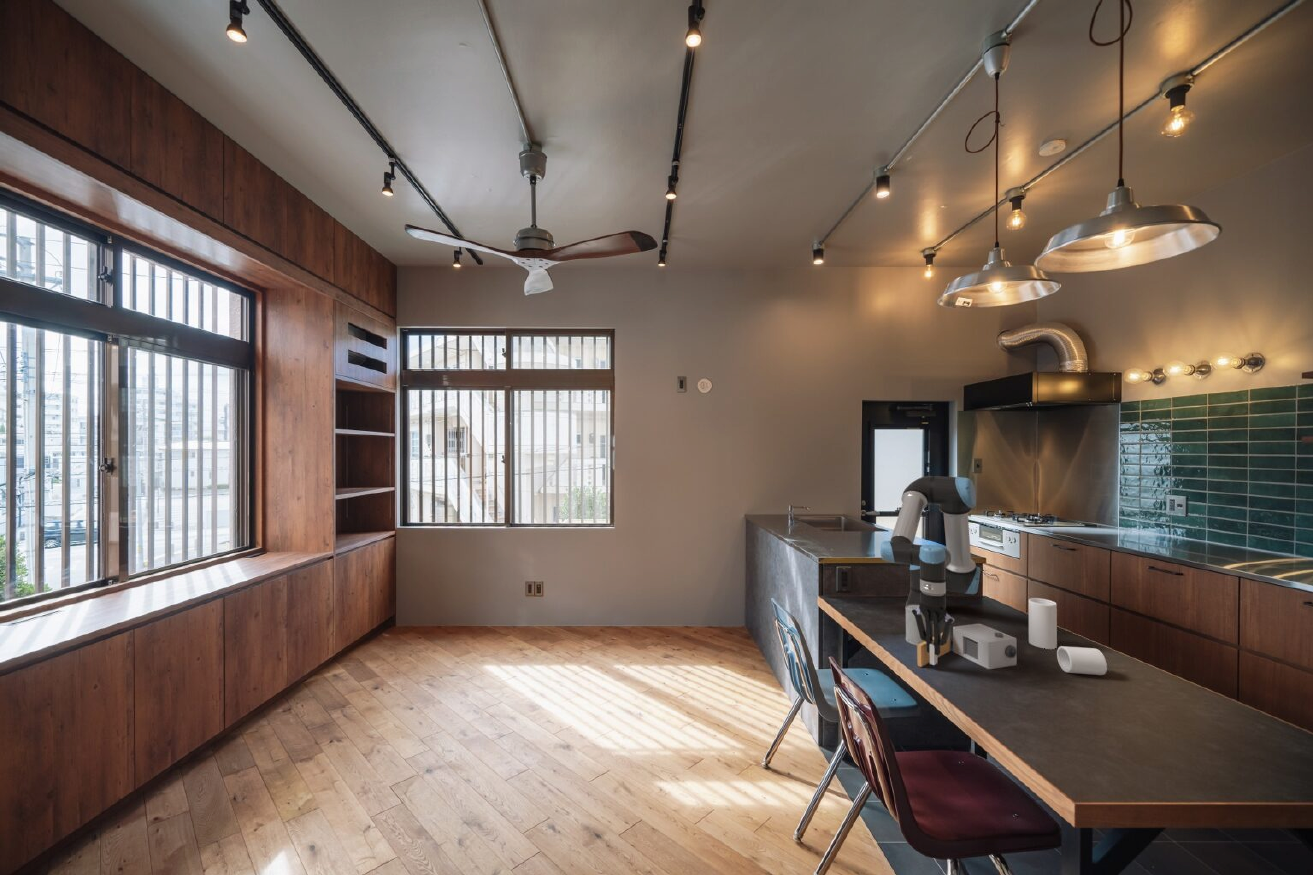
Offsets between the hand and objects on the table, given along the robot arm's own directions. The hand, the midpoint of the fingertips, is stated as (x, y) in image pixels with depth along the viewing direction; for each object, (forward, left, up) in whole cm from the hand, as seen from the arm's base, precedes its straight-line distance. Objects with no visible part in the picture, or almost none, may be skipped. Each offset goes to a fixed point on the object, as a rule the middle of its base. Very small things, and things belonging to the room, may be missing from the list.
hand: (933, 663), depth 165 cm
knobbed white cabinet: (-2, +23, -2) cm, 23 cm away
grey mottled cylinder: (-19, +13, -2) cm, 23 cm away
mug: (+14, +45, -2) cm, 47 cm away
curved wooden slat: (-6, +6, -2) cm, 9 cm away
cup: (-5, +54, -2) cm, 54 cm away
